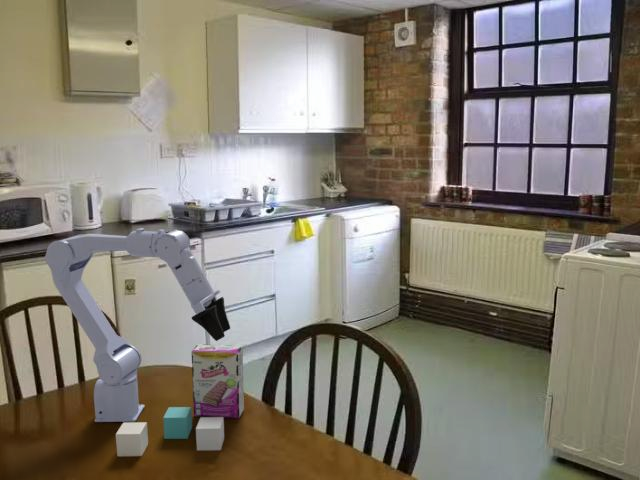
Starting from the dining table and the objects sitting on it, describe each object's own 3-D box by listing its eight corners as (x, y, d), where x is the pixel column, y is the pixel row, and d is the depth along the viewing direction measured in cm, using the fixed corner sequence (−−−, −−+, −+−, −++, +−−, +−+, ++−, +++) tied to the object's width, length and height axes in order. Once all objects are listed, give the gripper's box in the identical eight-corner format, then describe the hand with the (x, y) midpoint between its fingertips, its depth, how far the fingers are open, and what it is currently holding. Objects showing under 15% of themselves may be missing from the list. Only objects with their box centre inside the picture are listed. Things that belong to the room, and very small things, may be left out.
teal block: (164, 439, 131) (163, 417, 130) (170, 427, 136) (168, 407, 135) (187, 438, 131) (186, 417, 130) (192, 427, 136) (191, 407, 135)
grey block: (196, 450, 126) (195, 428, 125) (201, 438, 131) (200, 417, 130) (220, 450, 126) (219, 428, 125) (224, 438, 131) (223, 417, 130)
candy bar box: (193, 417, 140) (190, 351, 137) (199, 408, 145) (196, 343, 142) (240, 419, 139) (238, 352, 136) (245, 409, 144) (243, 344, 141)
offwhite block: (117, 456, 124) (115, 434, 123) (124, 444, 129) (123, 422, 128) (141, 456, 124) (140, 434, 123) (148, 443, 129) (146, 422, 128)
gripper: (202, 276, 125) (234, 333, 125) (215, 268, 139) (243, 319, 140) (172, 293, 125) (204, 349, 126) (188, 283, 139) (217, 333, 140)
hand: (223, 334), depth 133 cm, fingers open, 7 cm apart
